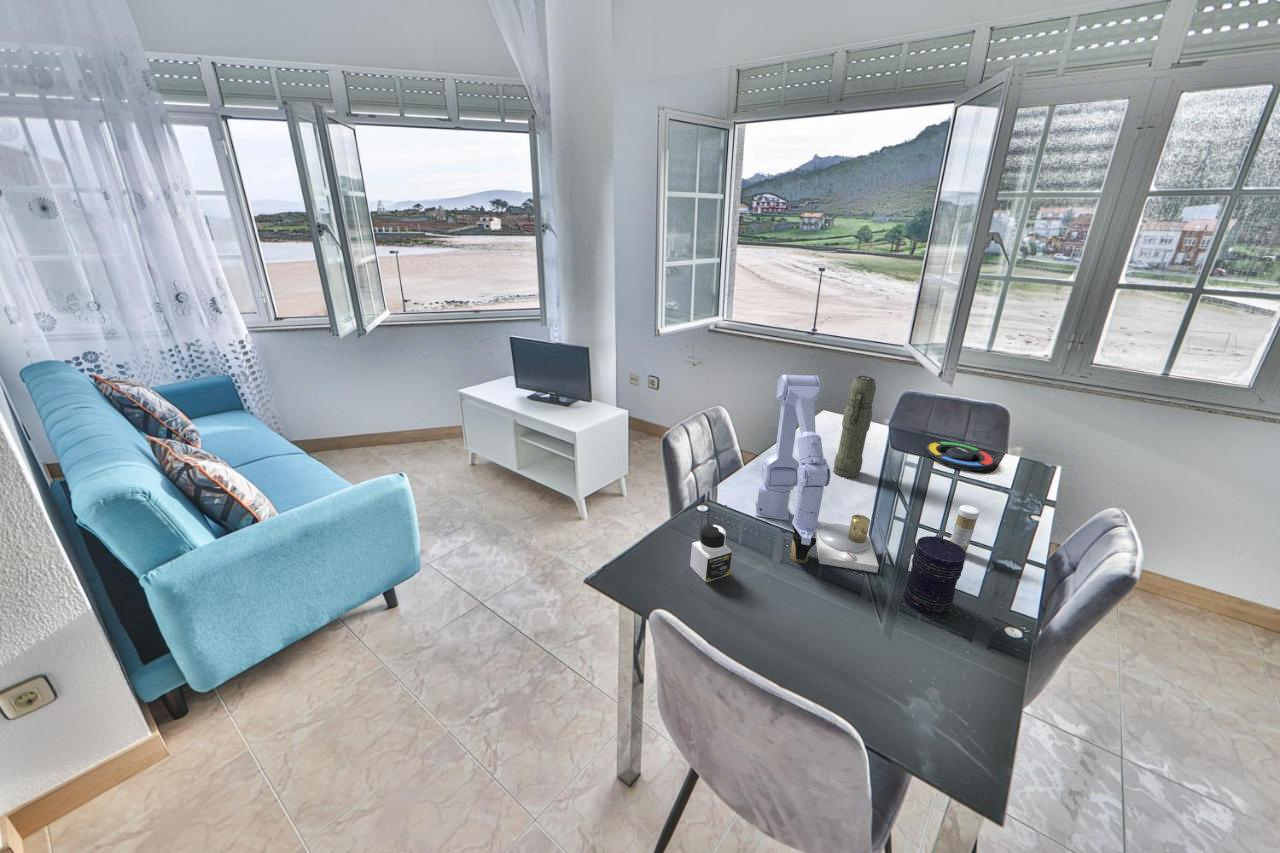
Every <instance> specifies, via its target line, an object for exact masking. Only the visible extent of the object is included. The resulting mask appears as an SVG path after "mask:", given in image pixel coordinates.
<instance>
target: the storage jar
mask: <svg viewBox="0 0 1280 853" xmlns="http://www.w3.org/2000/svg"><path fill="white" fill-rule="evenodd" d="M966 558H967V552H966V553H965V551H964V550H963V549H962V548H961V547H960V546H958V545H957V544H955V543H953V542H951V541H950V540H948V539H946V538H943V537H939V536H927V535H926V536H922V537H920V538H919V539H918V540H917V542H916V546H915V549H914V551H913V555H912V558H911V564H912V565H911V568H910V572H909V574H908V575H907V579H906V581H905V584H904V591H903V594H902V599H903V601H904V604H906V605H907V606H908V607H909V608H910V609H912V611H915V612H916V613H918V614H920V615H924V616H926V617H930V618H944V617H946V616H947V615H948V614H949V613H950V608H951V606H952V604H953V602H954V600H955V599H954V597H955V593H956V586H957V583H958V581H959V579H960V578H961V576H962V572H963V569H964V566H965V565H964V564H965V561H966Z"/></svg>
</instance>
